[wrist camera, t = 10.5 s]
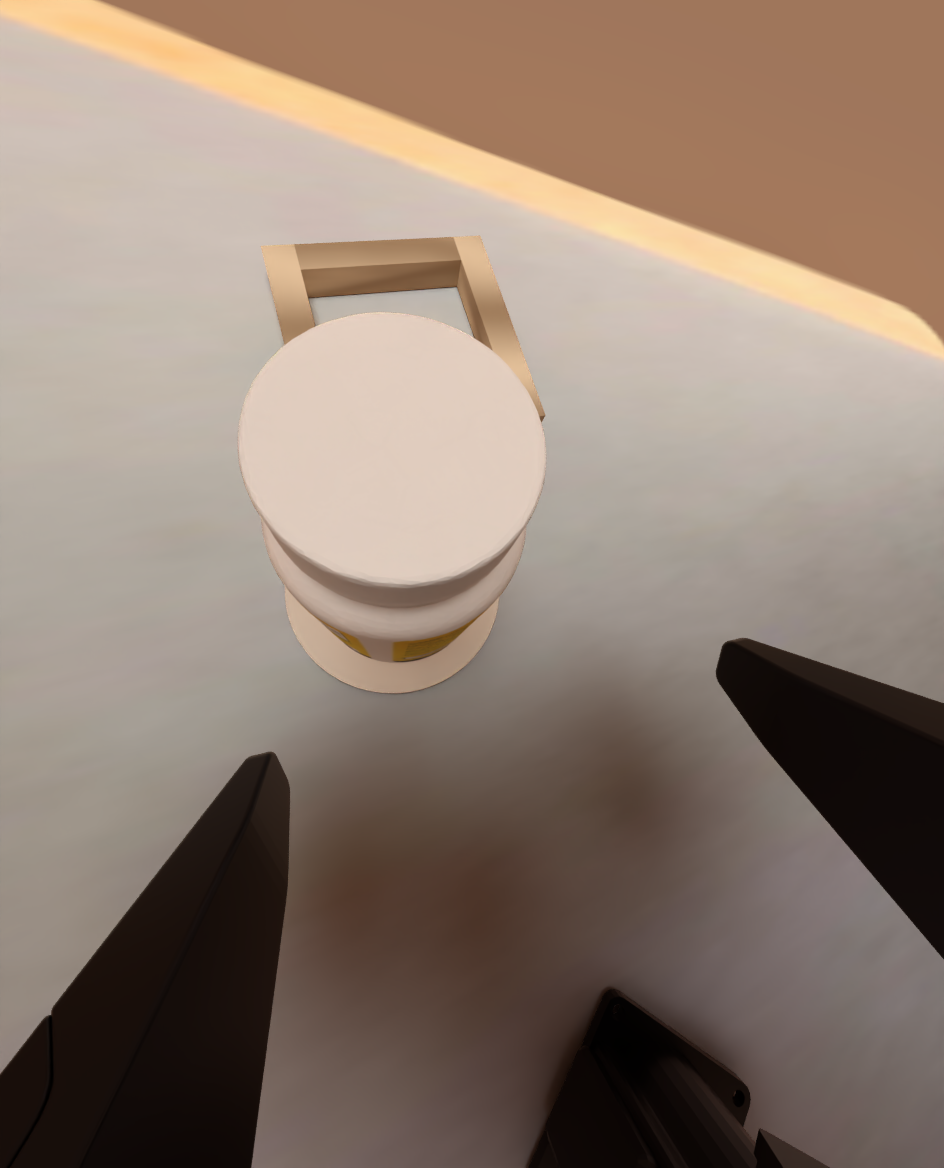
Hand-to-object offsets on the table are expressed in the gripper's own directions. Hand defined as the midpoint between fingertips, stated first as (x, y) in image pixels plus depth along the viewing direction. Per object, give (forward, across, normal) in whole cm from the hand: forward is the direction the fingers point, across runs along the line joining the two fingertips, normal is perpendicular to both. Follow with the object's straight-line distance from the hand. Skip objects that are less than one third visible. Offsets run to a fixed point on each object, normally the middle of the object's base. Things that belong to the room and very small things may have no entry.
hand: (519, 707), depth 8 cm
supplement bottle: (+11, +2, +3) cm, 11 cm away
